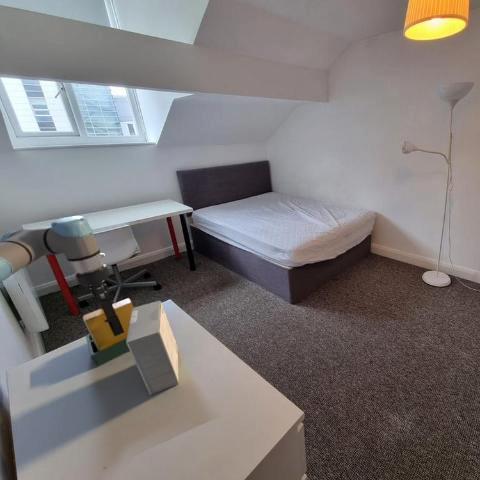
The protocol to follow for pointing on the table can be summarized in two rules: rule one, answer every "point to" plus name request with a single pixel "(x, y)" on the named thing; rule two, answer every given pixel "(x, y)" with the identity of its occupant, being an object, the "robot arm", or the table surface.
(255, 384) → the table surface
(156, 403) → the table surface
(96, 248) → the robot arm
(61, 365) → the table surface
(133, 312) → the hard drive box
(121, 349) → the caddy
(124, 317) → the book
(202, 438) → the table surface
